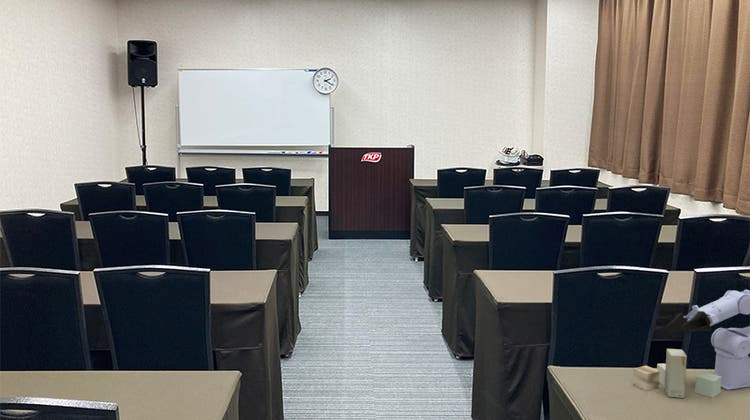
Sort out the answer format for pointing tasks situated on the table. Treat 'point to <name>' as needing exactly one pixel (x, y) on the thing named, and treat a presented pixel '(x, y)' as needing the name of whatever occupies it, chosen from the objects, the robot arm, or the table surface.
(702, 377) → the cube sage
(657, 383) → the cube beech
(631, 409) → the table surface
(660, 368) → the cube cream
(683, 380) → the skincare box
